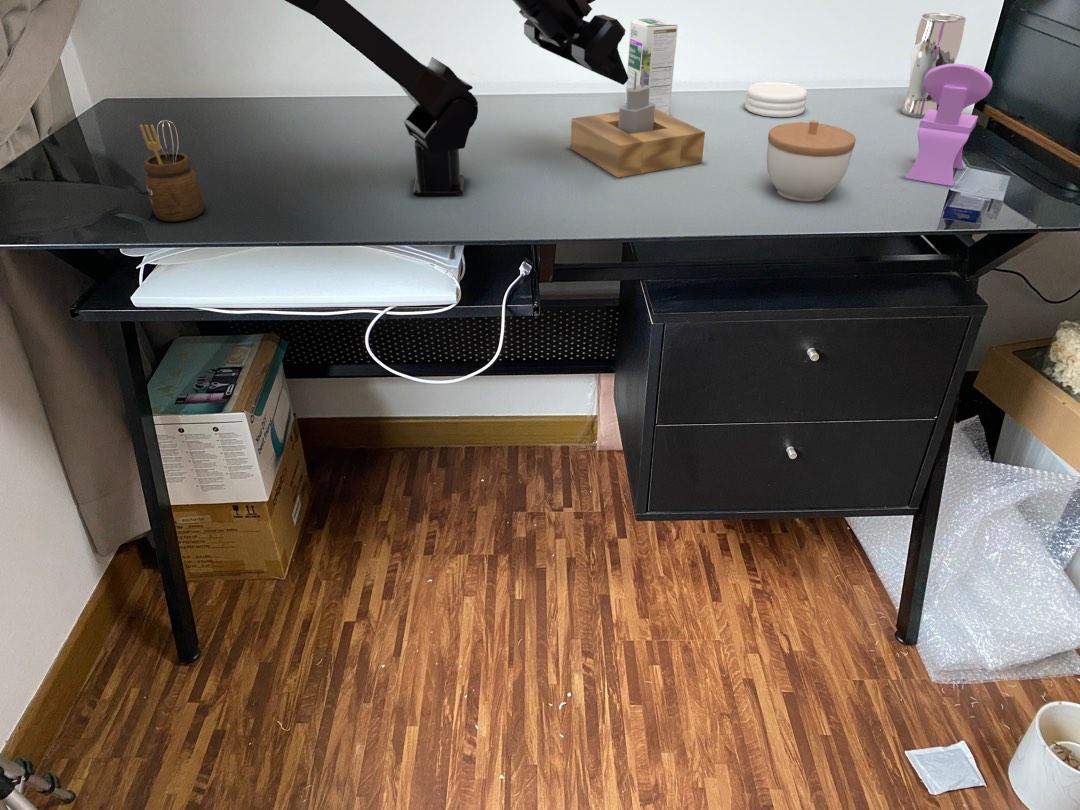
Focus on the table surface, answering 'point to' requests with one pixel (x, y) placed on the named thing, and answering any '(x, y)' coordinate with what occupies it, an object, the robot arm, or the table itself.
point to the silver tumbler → (931, 57)
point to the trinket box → (808, 159)
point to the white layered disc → (775, 99)
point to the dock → (636, 144)
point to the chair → (947, 121)
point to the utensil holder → (171, 182)
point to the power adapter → (637, 110)
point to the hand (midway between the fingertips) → (608, 74)
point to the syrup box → (652, 59)
